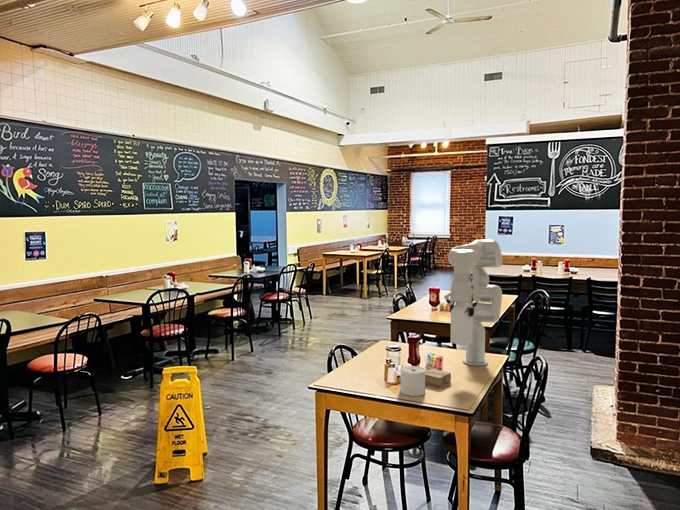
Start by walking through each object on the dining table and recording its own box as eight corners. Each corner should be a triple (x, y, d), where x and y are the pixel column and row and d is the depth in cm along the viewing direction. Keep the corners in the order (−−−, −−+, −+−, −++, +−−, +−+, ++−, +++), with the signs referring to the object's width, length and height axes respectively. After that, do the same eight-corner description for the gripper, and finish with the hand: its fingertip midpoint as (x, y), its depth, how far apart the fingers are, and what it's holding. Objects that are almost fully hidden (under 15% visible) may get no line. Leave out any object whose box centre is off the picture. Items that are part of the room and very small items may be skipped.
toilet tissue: (420, 398, 209) (420, 375, 208) (394, 393, 215) (394, 370, 214) (428, 390, 218) (428, 368, 218) (403, 386, 224) (403, 364, 223)
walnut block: (431, 378, 235) (431, 368, 235) (450, 383, 228) (450, 372, 228) (420, 384, 227) (420, 373, 227) (439, 389, 221) (439, 378, 220)
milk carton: (462, 345, 226) (463, 304, 224) (450, 342, 231) (450, 302, 230) (472, 343, 230) (473, 302, 229) (459, 340, 236) (460, 300, 234)
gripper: (483, 278, 226) (482, 315, 228) (447, 275, 236) (447, 311, 238) (478, 280, 220) (477, 318, 222) (441, 277, 230) (440, 314, 232)
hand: (461, 315), depth 230 cm, fingers closed on milk carton, 8 cm apart
